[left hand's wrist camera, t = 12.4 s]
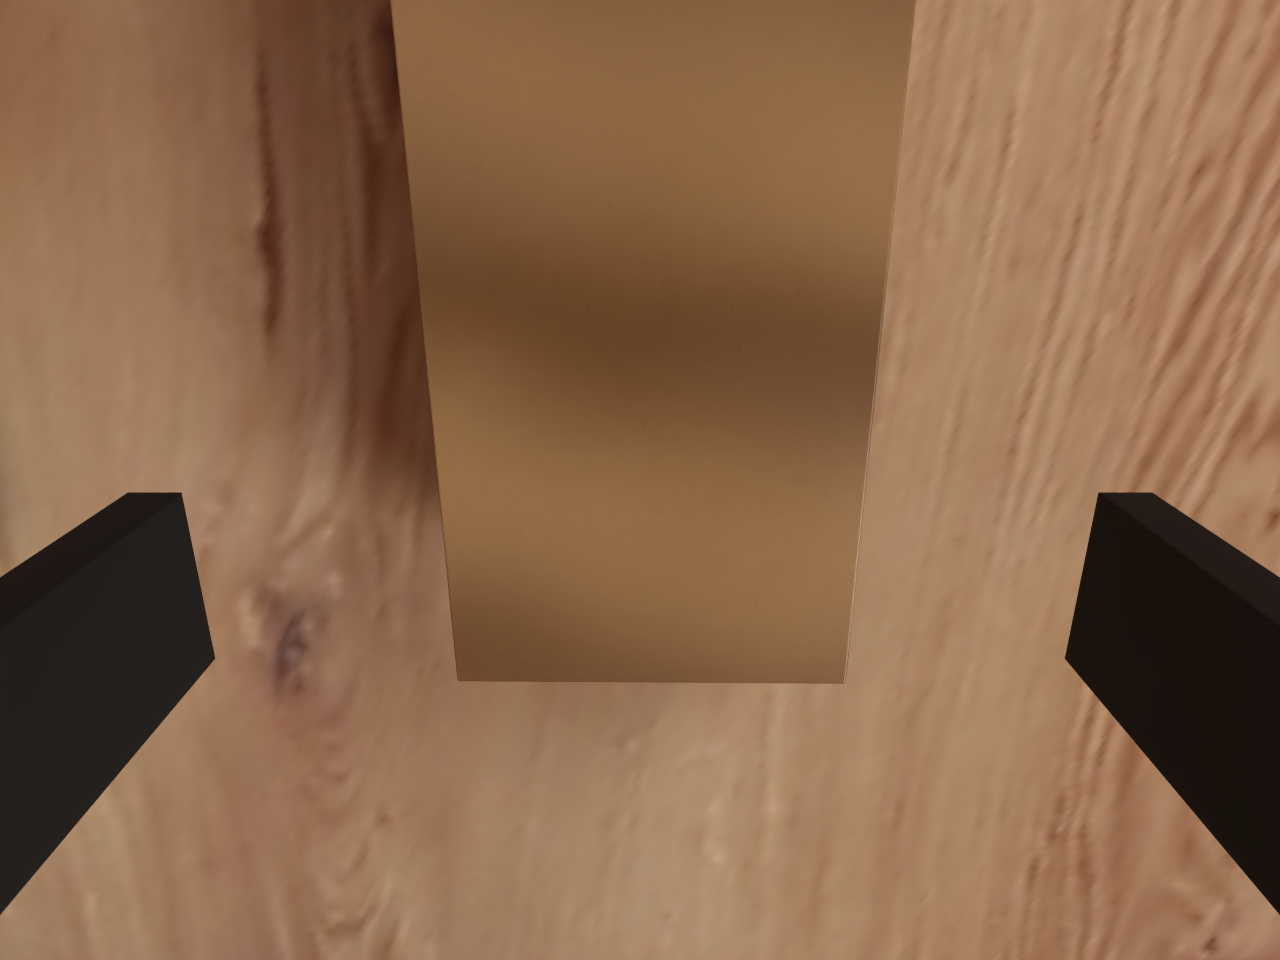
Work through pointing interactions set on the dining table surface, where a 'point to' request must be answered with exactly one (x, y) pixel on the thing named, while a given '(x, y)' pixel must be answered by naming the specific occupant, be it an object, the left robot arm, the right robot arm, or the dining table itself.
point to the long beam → (652, 323)
